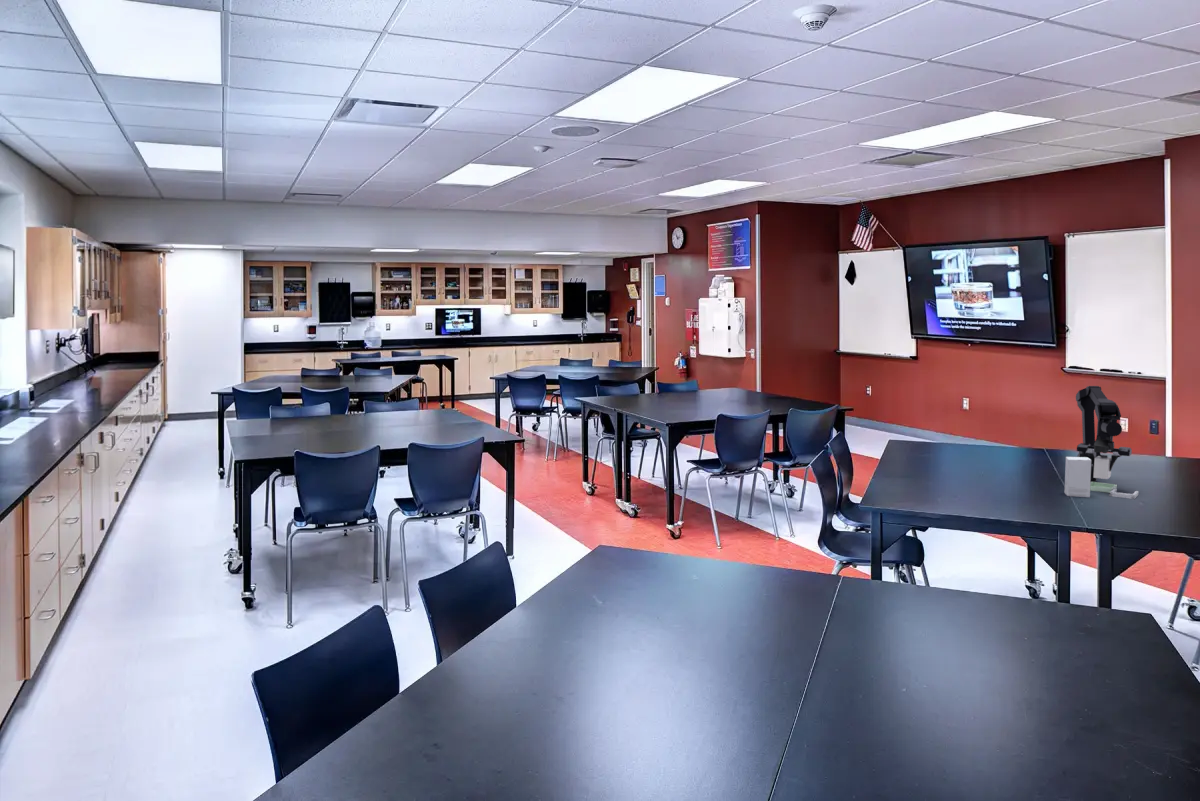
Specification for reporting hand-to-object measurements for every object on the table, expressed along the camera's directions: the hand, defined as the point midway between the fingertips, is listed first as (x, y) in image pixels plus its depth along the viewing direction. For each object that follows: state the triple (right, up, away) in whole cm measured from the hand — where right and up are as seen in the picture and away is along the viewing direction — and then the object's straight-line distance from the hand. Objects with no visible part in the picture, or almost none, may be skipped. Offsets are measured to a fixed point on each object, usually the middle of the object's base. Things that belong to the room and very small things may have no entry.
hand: (1102, 470), depth 344 cm
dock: (+2, -10, -10) cm, 14 cm away
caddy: (0, -3, 0) cm, 3 cm away
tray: (0, -8, +1) cm, 8 cm away
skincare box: (-16, -10, -10) cm, 21 cm away
